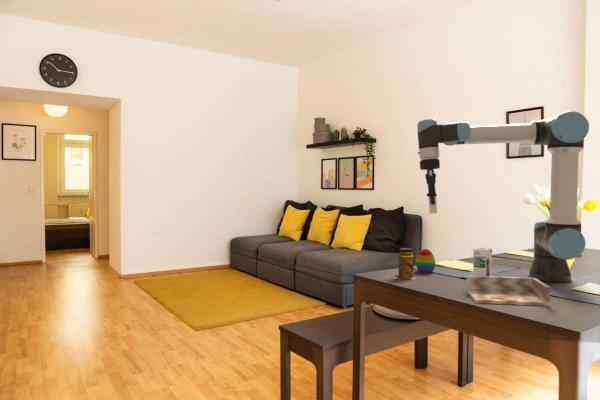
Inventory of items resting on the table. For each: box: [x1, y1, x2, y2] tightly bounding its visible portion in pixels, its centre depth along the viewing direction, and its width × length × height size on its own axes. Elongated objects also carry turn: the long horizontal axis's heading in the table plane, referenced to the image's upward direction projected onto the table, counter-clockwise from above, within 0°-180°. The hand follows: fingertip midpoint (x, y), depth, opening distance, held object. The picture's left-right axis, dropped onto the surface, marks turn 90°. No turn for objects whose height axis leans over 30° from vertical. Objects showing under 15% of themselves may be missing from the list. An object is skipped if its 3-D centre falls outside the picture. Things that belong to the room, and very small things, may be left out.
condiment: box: [392, 247, 416, 280], centre depth 183 cm, size 7×8×12 cm
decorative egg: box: [415, 248, 436, 274], centre depth 195 cm, size 8×8×10 cm
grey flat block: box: [467, 275, 551, 307], centre depth 149 cm, size 22×14×6 cm, turn 80°
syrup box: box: [472, 247, 493, 276], centre depth 166 cm, size 6×6×14 cm
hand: (433, 213), depth 175 cm, fingers open, 13 cm apart
